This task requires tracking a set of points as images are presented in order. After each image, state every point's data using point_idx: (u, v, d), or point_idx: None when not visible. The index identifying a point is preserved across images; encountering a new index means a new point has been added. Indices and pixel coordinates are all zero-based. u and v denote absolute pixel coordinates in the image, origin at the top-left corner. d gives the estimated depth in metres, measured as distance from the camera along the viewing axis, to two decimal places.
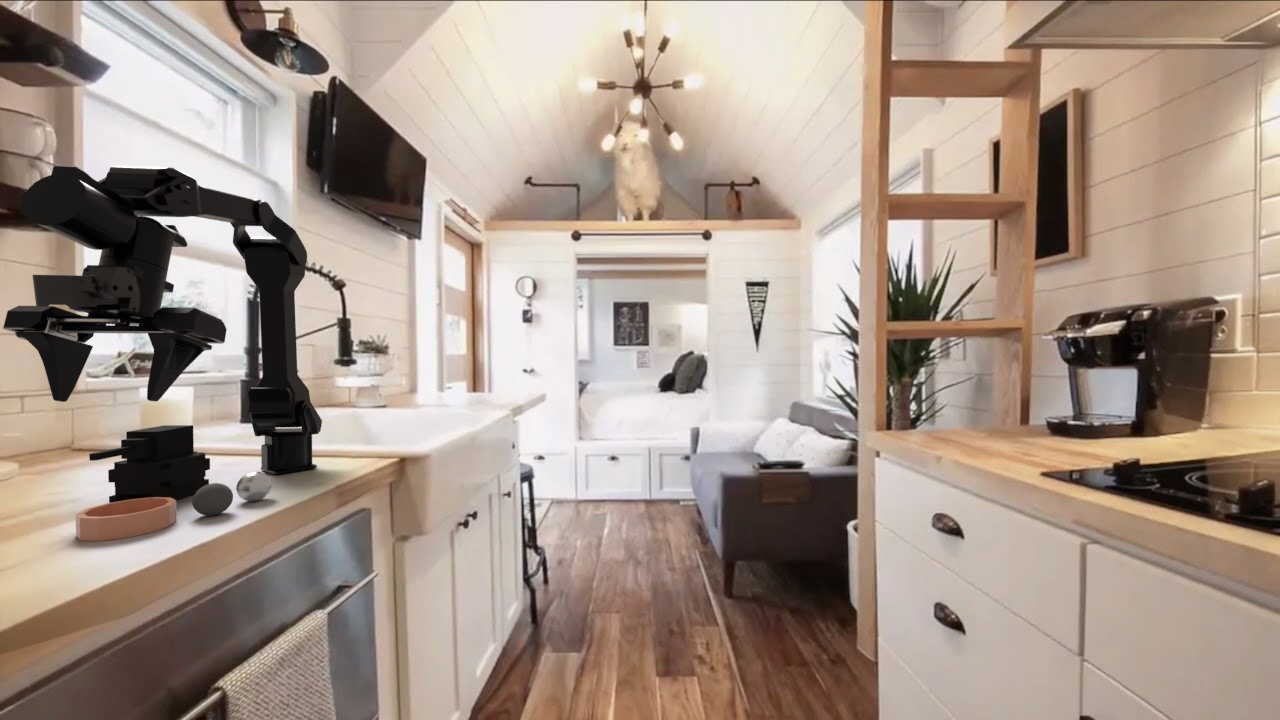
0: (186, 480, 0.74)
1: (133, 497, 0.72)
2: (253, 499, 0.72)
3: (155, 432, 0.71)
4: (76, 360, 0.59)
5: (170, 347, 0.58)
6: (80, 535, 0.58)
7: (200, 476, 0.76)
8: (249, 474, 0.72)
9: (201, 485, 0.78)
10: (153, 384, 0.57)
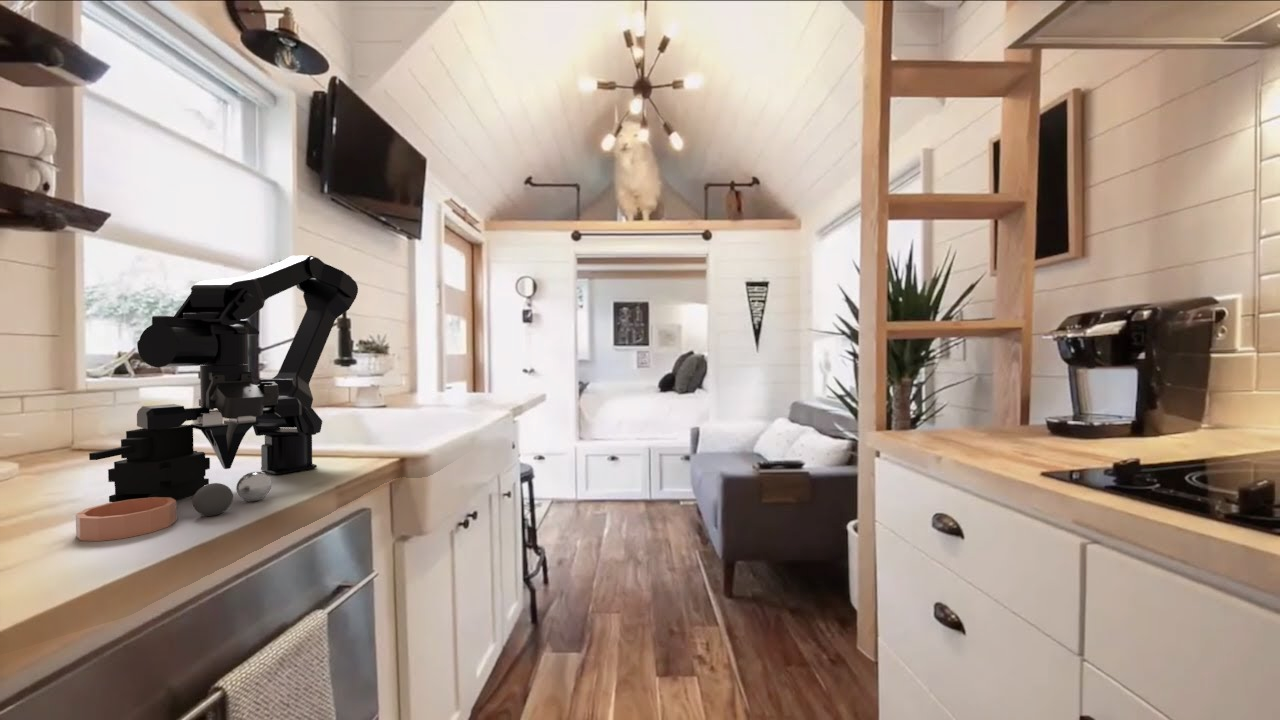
0: (186, 479, 0.74)
1: (133, 496, 0.72)
2: (253, 499, 0.72)
3: (155, 431, 0.71)
4: None
5: (247, 430, 0.80)
6: (80, 535, 0.58)
7: (200, 475, 0.76)
8: (249, 474, 0.72)
9: (201, 484, 0.78)
10: (232, 457, 0.79)
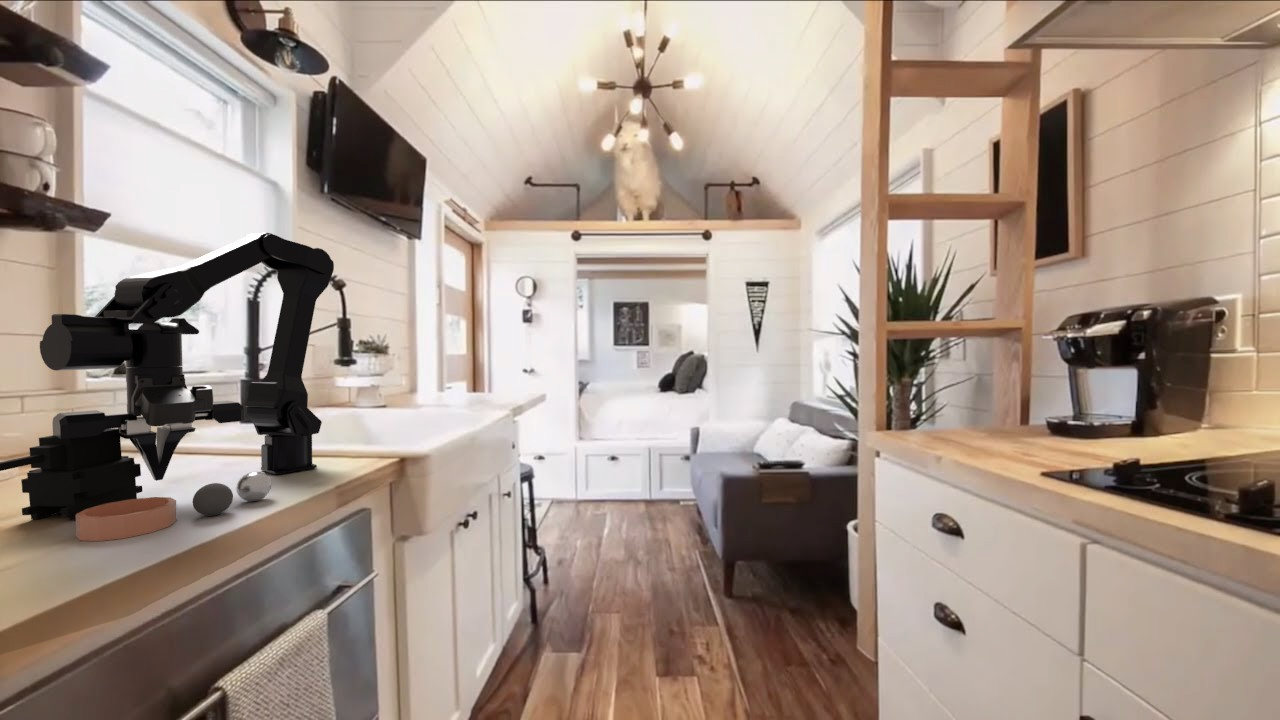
0: (108, 489, 0.68)
1: (52, 508, 0.67)
2: (253, 499, 0.72)
3: None
4: None
5: None
6: (80, 535, 0.58)
7: (128, 484, 0.70)
8: (249, 474, 0.72)
9: (132, 493, 0.71)
10: (165, 467, 0.73)
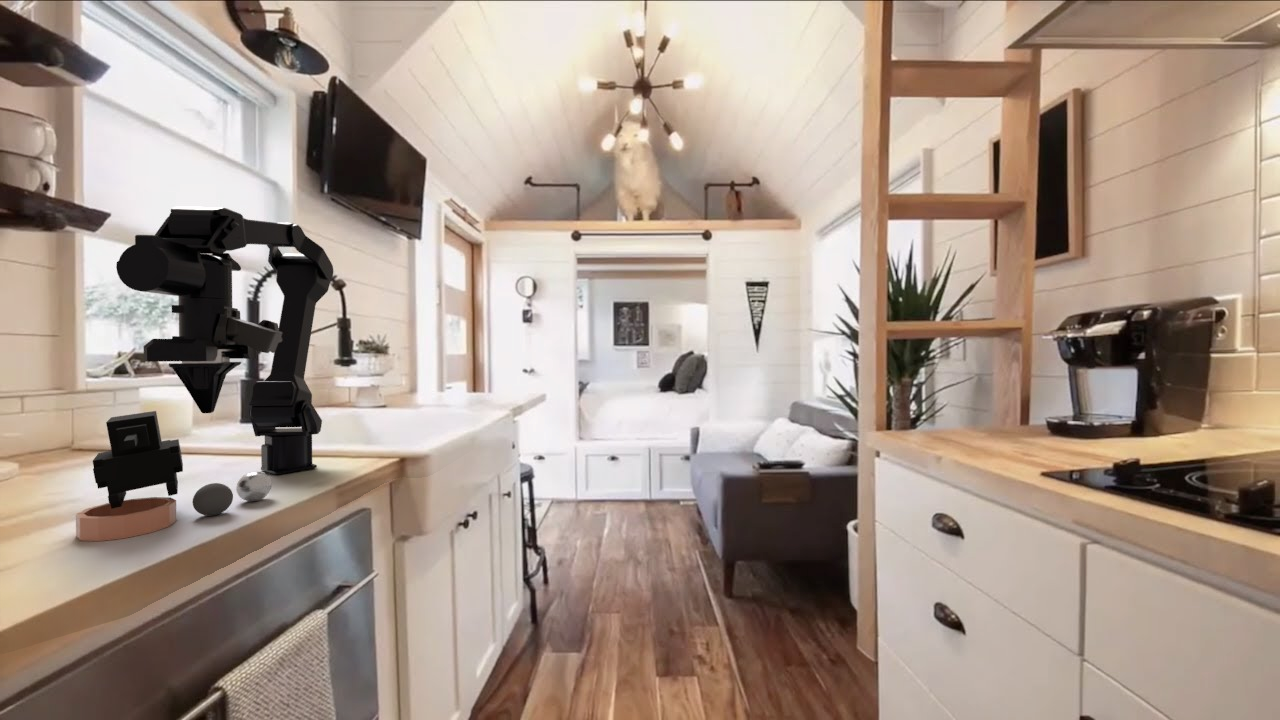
0: (182, 466, 0.68)
1: (121, 496, 0.63)
2: (253, 499, 0.72)
3: (150, 416, 0.64)
4: None
5: (228, 371, 0.75)
6: (80, 535, 0.58)
7: (182, 463, 0.70)
8: (249, 474, 0.72)
9: (176, 475, 0.70)
10: (216, 400, 0.73)
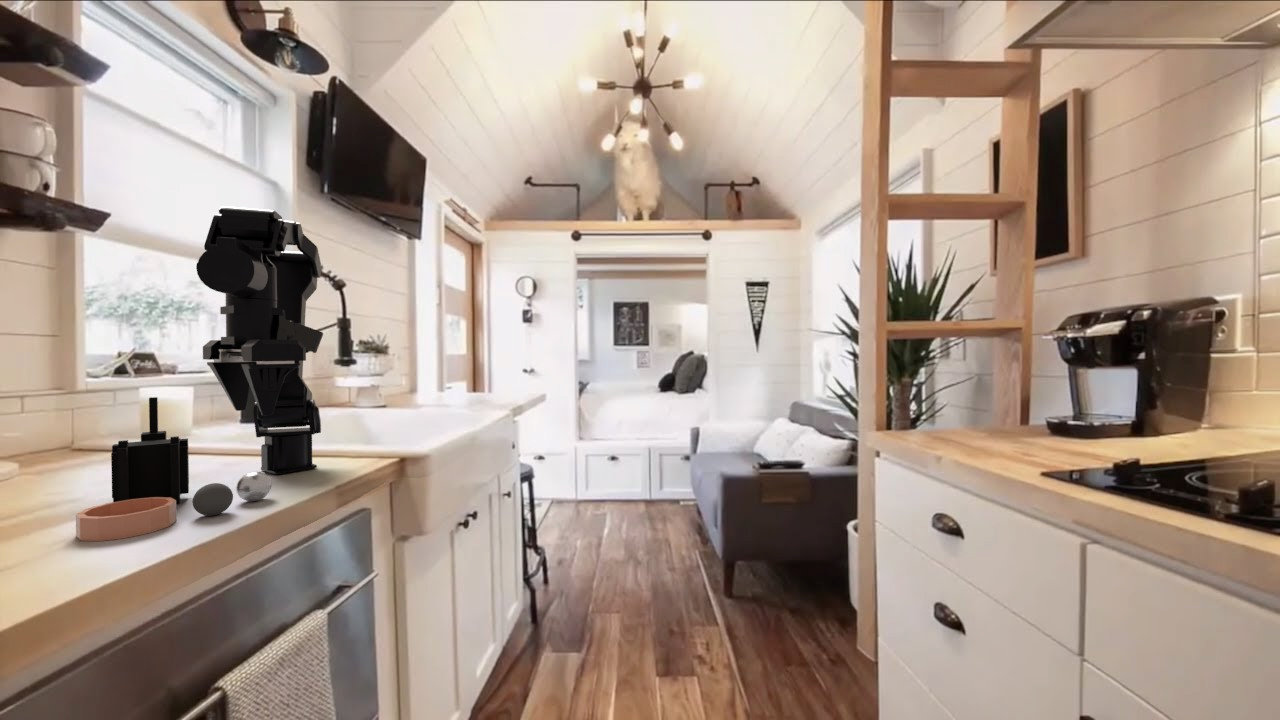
0: (187, 464, 0.73)
1: (127, 460, 0.68)
2: (253, 499, 0.72)
3: None
4: None
5: None
6: (80, 535, 0.58)
7: (188, 481, 0.73)
8: (249, 474, 0.72)
9: (179, 493, 0.72)
10: None
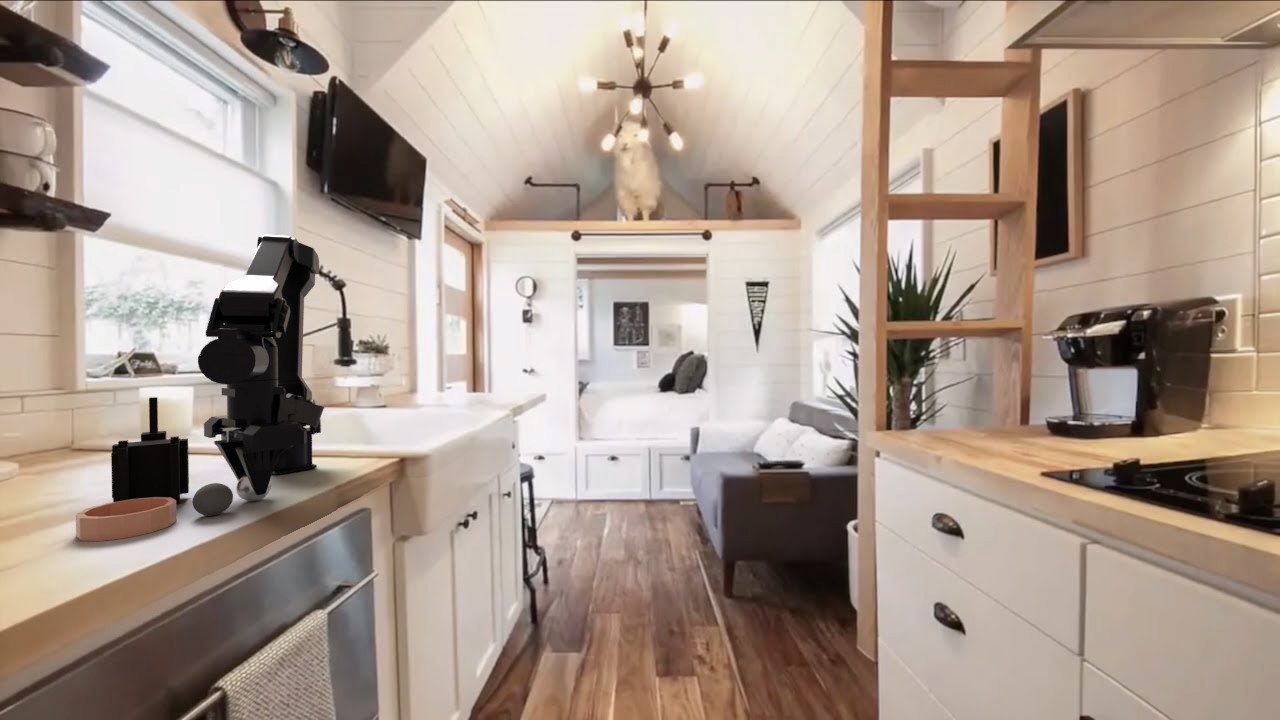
0: (187, 464, 0.73)
1: (127, 460, 0.68)
2: (253, 499, 0.72)
3: None
4: None
5: None
6: (80, 535, 0.58)
7: (188, 481, 0.73)
8: None
9: (179, 493, 0.72)
10: None
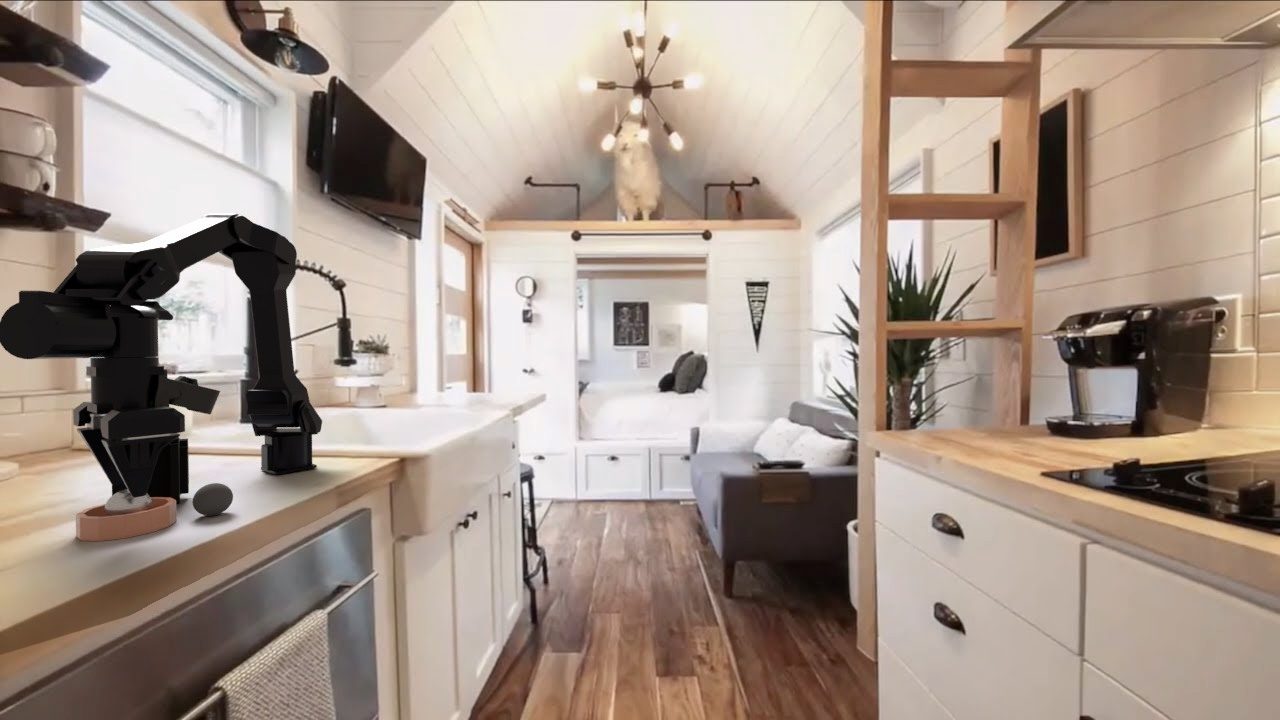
0: (187, 464, 0.73)
1: None
2: None
3: None
4: None
5: None
6: (80, 535, 0.58)
7: (188, 481, 0.73)
8: (121, 492, 0.61)
9: (179, 493, 0.72)
10: None
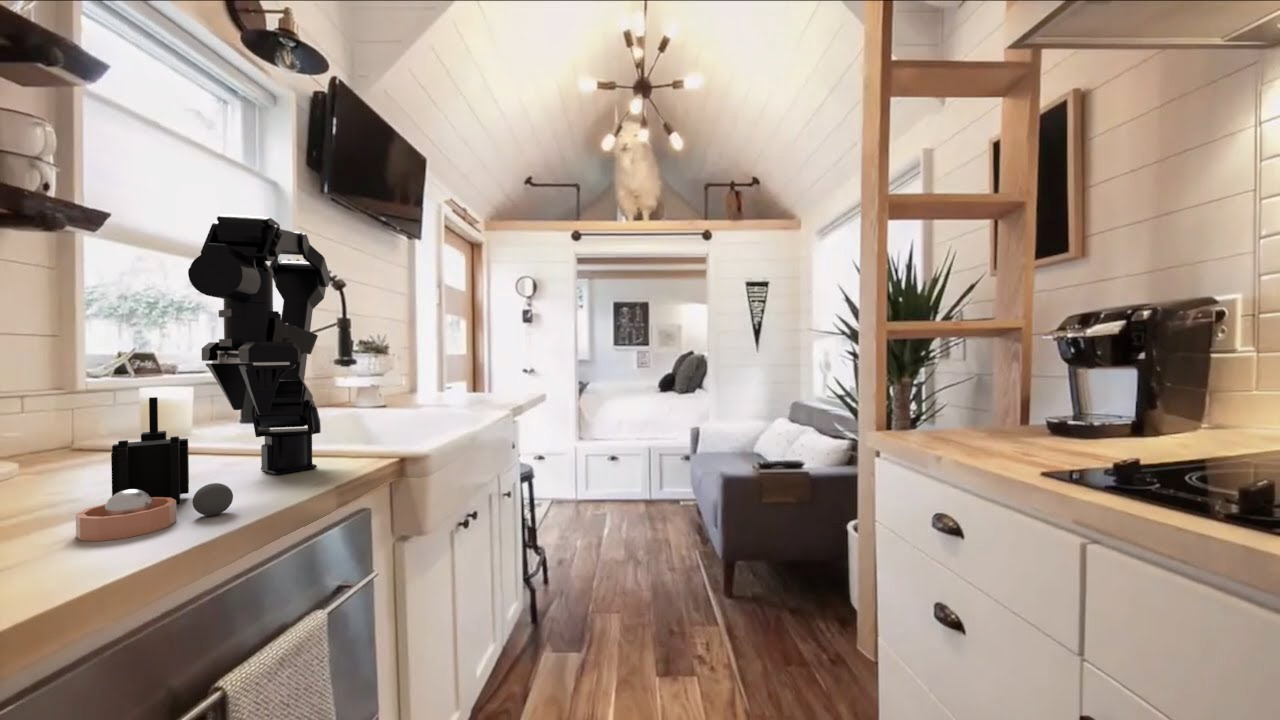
0: (187, 464, 0.73)
1: (127, 460, 0.68)
2: None
3: None
4: None
5: None
6: (80, 535, 0.58)
7: (188, 481, 0.73)
8: (121, 493, 0.61)
9: (179, 493, 0.72)
10: None
